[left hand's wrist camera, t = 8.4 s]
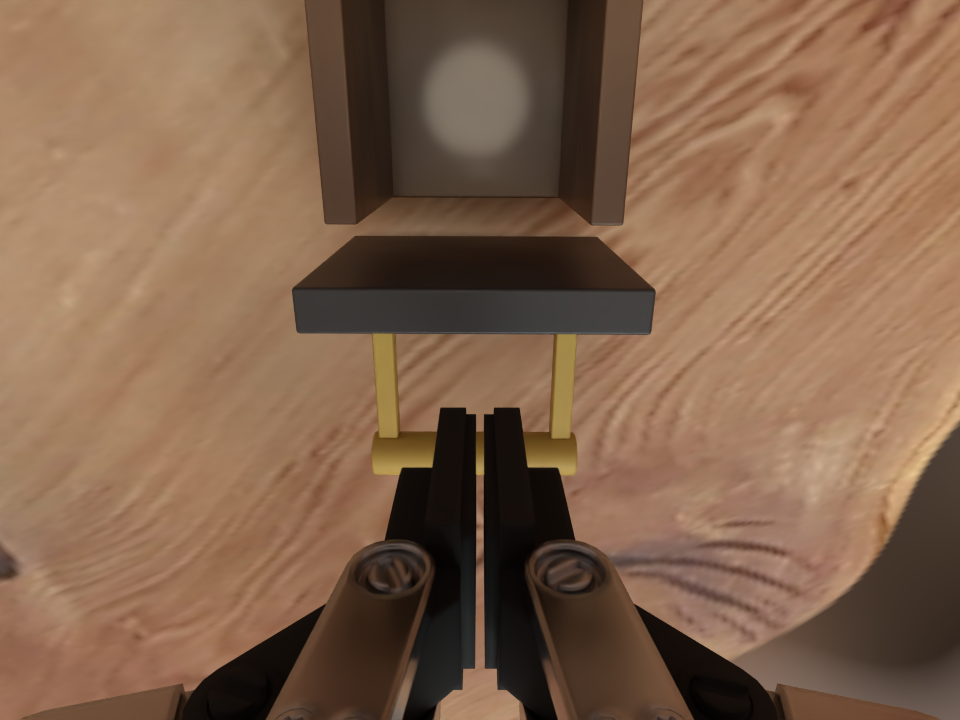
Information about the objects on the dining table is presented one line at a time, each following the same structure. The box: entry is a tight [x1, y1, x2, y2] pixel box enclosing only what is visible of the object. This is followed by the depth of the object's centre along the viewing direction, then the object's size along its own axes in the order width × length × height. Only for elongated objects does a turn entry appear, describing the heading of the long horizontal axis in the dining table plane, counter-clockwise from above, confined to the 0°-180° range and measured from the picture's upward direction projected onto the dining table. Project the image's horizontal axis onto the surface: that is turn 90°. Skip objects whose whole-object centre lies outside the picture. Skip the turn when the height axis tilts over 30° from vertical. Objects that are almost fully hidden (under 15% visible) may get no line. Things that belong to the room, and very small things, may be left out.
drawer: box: [292, 0, 656, 475], centre depth 16 cm, size 24×9×8 cm, turn 0°
